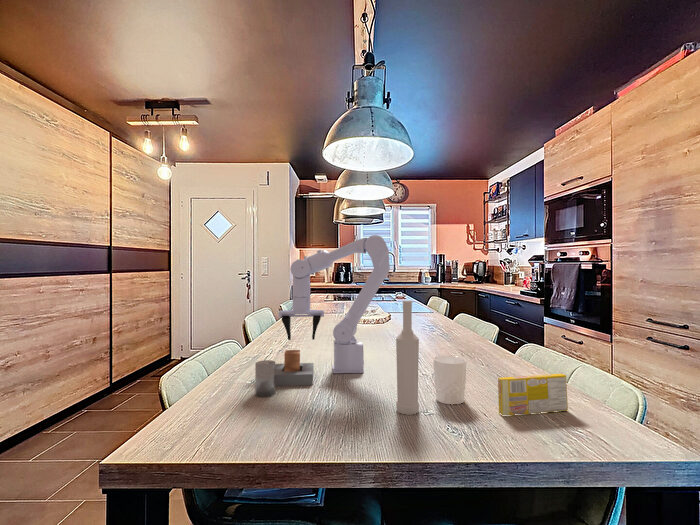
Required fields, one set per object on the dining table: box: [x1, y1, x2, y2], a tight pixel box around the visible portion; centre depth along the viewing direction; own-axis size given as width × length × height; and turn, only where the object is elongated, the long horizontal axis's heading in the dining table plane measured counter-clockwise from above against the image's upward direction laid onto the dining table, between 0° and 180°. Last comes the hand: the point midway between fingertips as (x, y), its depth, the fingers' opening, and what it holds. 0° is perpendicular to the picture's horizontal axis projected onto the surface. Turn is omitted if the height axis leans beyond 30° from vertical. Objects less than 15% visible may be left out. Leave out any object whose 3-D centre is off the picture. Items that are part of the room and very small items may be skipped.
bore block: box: [275, 362, 314, 387], centre depth 107 cm, size 12×12×3 cm
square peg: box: [283, 349, 301, 372], centre depth 107 cm, size 4×4×8 cm
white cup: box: [433, 355, 468, 406], centre depth 90 cm, size 8×8×10 cm
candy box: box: [497, 373, 569, 415], centre depth 82 cm, size 16×2×8 cm, turn 100°
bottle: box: [395, 299, 420, 416], centre depth 83 cm, size 5×5×25 cm
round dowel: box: [254, 359, 276, 398], centre depth 95 cm, size 5×5×8 cm
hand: (301, 339), depth 118 cm, fingers open, 7 cm apart
